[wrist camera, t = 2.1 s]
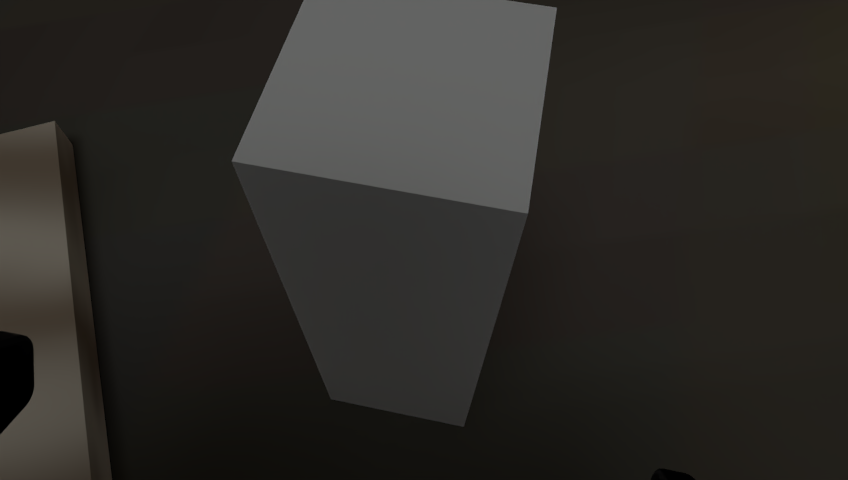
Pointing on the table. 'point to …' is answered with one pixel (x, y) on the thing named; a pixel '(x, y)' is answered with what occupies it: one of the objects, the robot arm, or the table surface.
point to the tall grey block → (399, 187)
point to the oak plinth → (49, 312)
